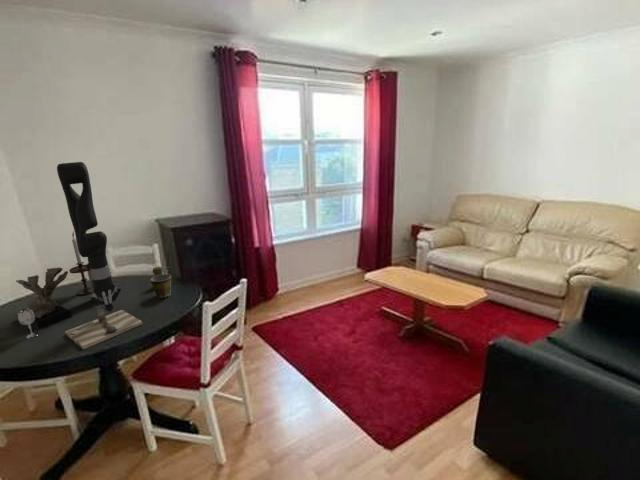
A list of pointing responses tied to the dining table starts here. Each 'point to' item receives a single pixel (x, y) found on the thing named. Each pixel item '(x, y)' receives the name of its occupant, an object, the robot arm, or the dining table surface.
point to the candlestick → (80, 270)
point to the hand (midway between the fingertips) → (109, 310)
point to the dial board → (102, 329)
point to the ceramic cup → (162, 285)
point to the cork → (157, 271)
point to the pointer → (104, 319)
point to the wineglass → (27, 319)
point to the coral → (46, 299)
